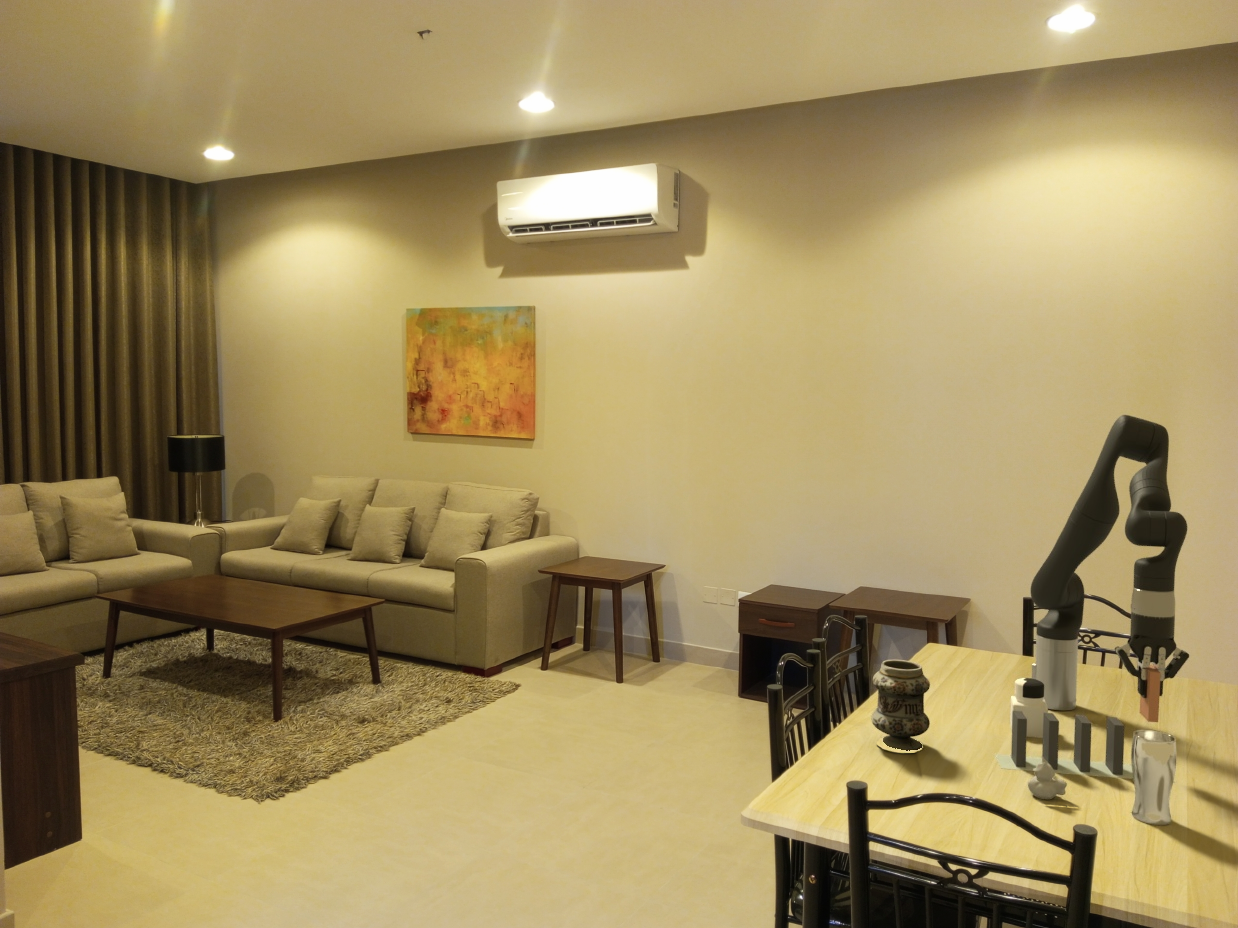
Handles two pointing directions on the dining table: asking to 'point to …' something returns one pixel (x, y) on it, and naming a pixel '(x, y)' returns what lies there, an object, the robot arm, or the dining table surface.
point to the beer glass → (1153, 775)
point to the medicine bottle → (1030, 704)
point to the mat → (1065, 767)
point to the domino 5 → (1151, 696)
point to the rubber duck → (1045, 782)
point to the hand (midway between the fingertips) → (1150, 697)
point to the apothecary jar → (901, 703)
